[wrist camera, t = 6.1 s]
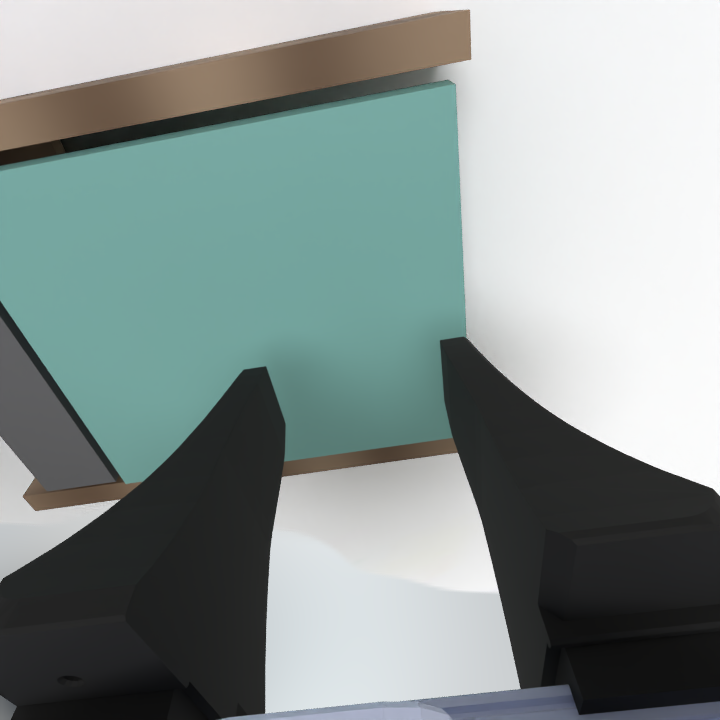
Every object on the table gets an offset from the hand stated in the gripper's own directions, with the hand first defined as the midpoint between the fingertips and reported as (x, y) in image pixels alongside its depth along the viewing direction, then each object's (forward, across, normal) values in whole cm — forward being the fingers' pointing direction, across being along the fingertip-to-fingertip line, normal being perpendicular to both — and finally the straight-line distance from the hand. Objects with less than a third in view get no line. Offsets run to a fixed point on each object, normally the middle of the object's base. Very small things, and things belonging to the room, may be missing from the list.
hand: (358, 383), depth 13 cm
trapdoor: (+6, +5, 0) cm, 8 cm away
